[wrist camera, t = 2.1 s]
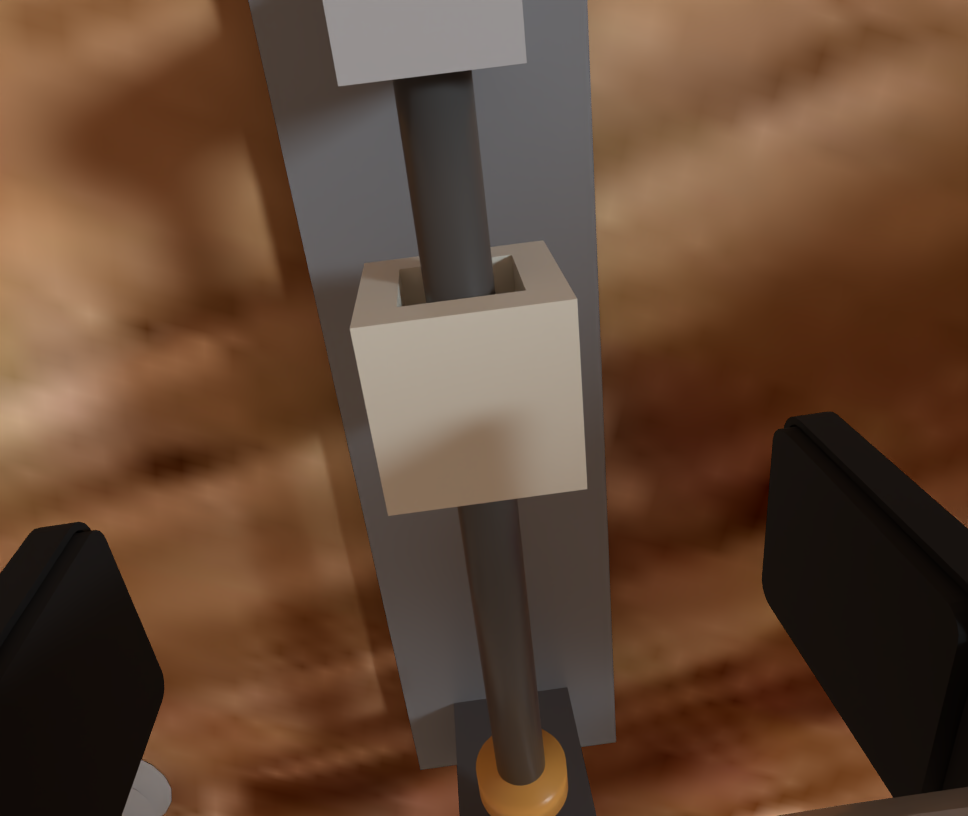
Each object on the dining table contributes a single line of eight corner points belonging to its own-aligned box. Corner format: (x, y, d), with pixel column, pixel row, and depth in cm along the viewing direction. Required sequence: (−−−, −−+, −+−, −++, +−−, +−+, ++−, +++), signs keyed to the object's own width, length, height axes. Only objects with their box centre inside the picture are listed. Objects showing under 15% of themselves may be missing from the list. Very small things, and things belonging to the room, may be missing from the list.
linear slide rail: (576, -74, 18) (703, -152, 10) (610, 721, 31) (678, 968, 23) (248, -34, 18) (109, -81, 10) (420, 748, 31) (421, 1006, 23)
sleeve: (543, 240, 17) (577, 299, 13) (554, 399, 18) (587, 489, 15) (364, 263, 17) (349, 328, 13) (394, 421, 18) (387, 515, 15)
